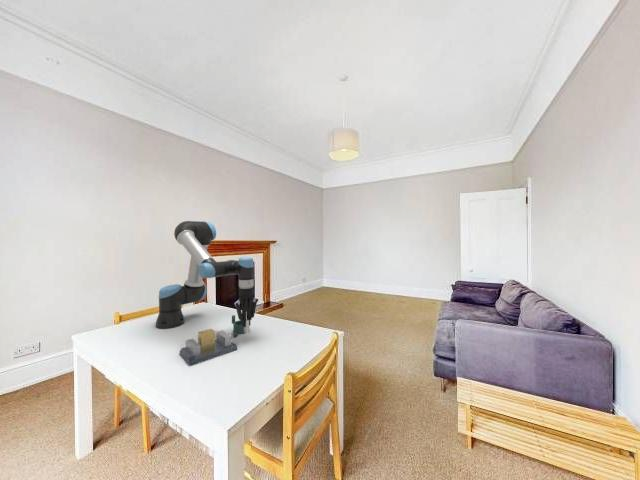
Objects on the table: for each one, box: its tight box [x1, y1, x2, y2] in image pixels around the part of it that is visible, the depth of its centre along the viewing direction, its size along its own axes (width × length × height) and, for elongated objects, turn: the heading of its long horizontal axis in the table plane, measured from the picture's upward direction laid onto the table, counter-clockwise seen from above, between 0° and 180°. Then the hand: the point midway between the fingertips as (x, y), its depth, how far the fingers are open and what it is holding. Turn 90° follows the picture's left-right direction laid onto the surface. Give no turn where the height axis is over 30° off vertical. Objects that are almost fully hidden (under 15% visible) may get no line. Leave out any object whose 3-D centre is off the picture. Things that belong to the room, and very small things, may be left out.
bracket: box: [231, 314, 246, 335], centre depth 141 cm, size 9×9×9 cm
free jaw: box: [215, 329, 239, 347], centre depth 122 cm, size 10×9×4 cm
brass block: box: [197, 328, 216, 352], centre depth 115 cm, size 4×6×8 cm, turn 135°
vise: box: [179, 338, 238, 367], centre depth 116 cm, size 14×21×6 cm, turn 135°
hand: (246, 332), depth 129 cm, fingers closed
